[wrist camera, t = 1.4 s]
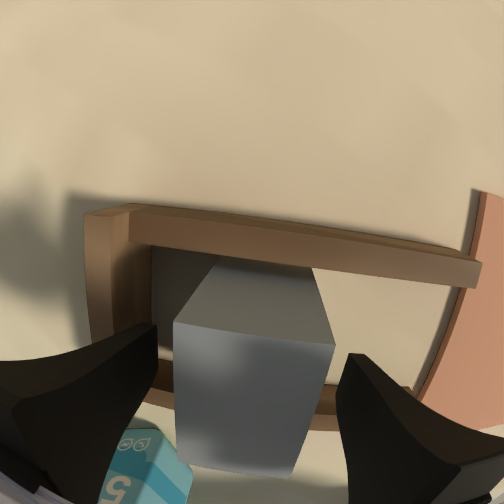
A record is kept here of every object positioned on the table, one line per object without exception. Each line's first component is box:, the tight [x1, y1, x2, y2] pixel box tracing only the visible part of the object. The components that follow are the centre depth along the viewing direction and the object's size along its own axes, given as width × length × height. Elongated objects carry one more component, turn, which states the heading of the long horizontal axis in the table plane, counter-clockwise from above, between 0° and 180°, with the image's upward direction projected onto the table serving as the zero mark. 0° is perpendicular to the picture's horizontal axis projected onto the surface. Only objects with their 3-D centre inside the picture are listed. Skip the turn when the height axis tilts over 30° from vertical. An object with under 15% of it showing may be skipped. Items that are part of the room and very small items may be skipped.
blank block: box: [173, 255, 336, 479], centre depth 11 cm, size 6×4×7 cm, turn 173°
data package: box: [97, 429, 193, 504], centre depth 13 cm, size 12×4×12 cm, turn 110°
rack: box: [84, 203, 483, 431], centre depth 13 cm, size 10×16×4 cm, turn 83°
